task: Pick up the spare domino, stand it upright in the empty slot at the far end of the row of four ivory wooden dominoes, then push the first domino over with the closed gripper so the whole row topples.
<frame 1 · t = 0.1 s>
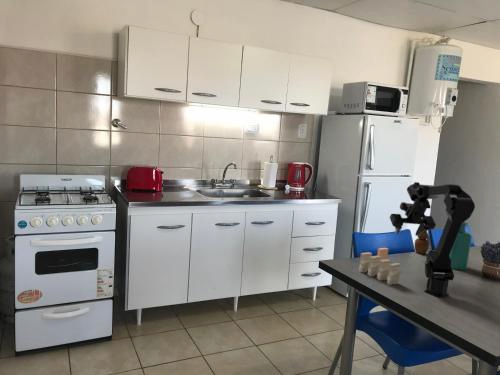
hand: (406, 234, 188), 15 cm above the table, tool tilted 30°, fingers open, 9 cm apart
wooden figurine: (420, 253, 217), on the table
domino 4: (364, 271, 180), on the table
domino 3: (373, 275, 175), on the table
domino 2: (382, 279, 171), on the table
teal tall bottle: (453, 267, 197), on the table
domino 1: (392, 283, 167), on the table
spare domino: (381, 265, 189), on the table
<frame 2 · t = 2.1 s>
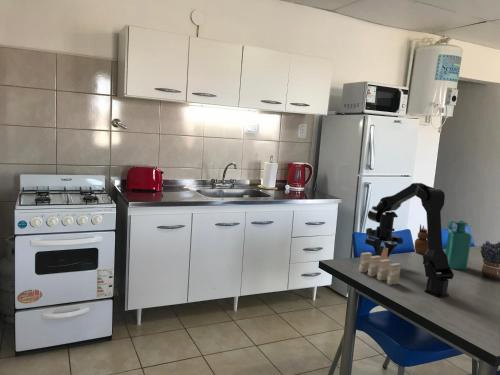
hand: (381, 259, 189), 3 cm above the table, tool pointing down, fingers closed on spare domino, 5 cm apart
spare domino: (381, 265, 189), on the table, touching gripper
everything else where it was.
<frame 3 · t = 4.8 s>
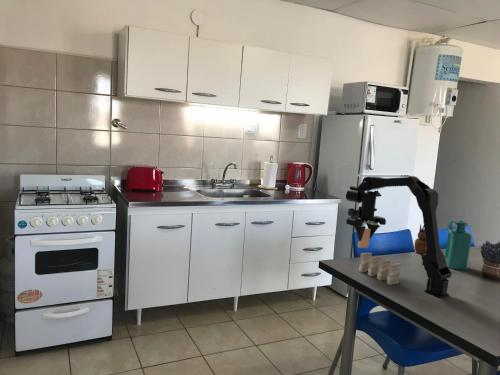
hand: (364, 240, 183), 12 cm above the table, tool pointing down, fingers closed on spare domino, 5 cm apart
spare domino: (363, 247, 184), point 9 cm above the table, touching gripper
everything else where it was.
when the fingers open (4 cm above the table, at t = 7.5 s): spare domino stays where it is, on the table.
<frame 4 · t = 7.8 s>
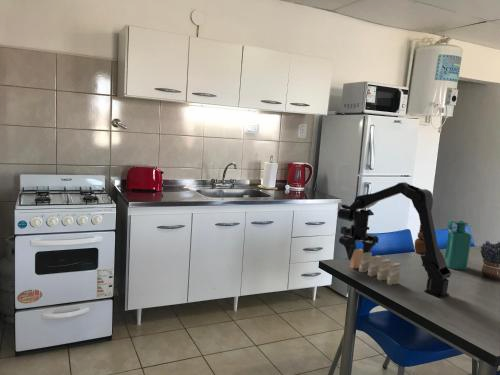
hand: (356, 258, 183), 4 cm above the table, tool pointing down, fingers open, 9 cm apart
spare domino: (355, 267, 184), on the table
everything else where it was.
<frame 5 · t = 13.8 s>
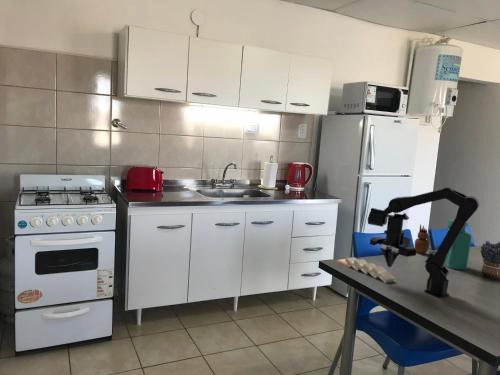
hand: (389, 266, 168), 6 cm above the table, tool pointing down, fingers closed
domino 4: (362, 268, 181), point 1 cm above the table, tilted 77°, touching domino 3, spare domino
domino 3: (370, 272, 176), point 1 cm above the table, tilted 72°, touching domino 4
domino 2: (380, 276, 172), point 1 cm above the table, tilted 72°, touching domino 1
domino 1: (390, 280, 168), point 1 cm above the table, tilted 71°, touching domino 2
spare domino: (354, 266, 185), on the table, tilted 90°, touching domino 4
everything else where it was.
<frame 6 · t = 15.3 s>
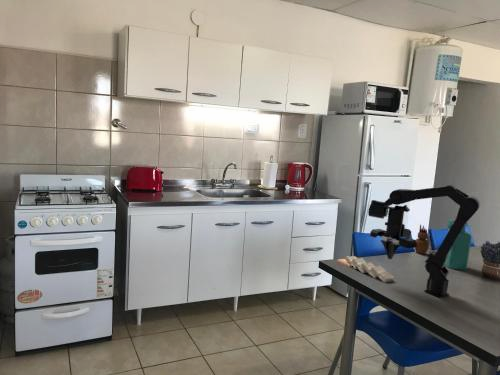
hand: (390, 259, 168), 9 cm above the table, tool pointing down, fingers closed
domino 4: (360, 267, 182), point 1 cm above the table, tilted 78°, touching domino 3, spare domino
domino 3: (367, 271, 177), point 1 cm above the table, tilted 71°, touching domino 2, domino 4
domino 2: (379, 275, 173), point 1 cm above the table, tilted 72°, touching domino 1, domino 3
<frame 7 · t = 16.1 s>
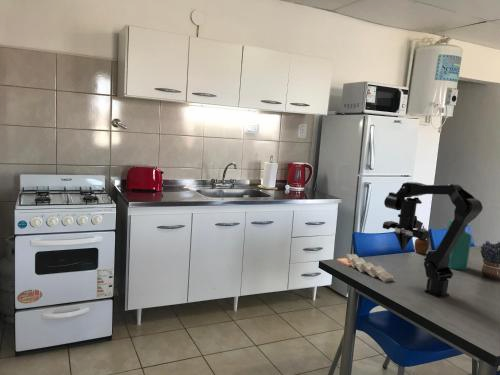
hand: (402, 249, 173), 12 cm above the table, tool pointing down, fingers closed
domino 4: (359, 266, 183), point 1 cm above the table, tilted 73°, touching domino 3, spare domino
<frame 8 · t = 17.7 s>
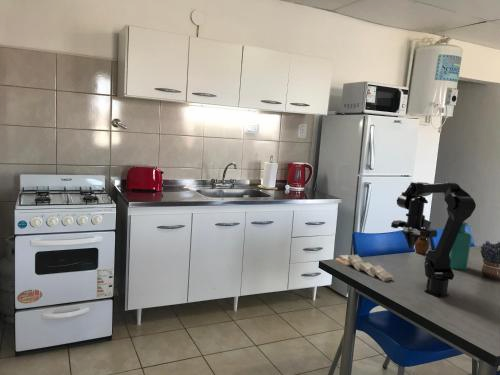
hand: (410, 248, 176), 12 cm above the table, tool pointing down, fingers closed
domino 4: (353, 262, 185), point 2 cm above the table, tilted 90°, touching domino 3, spare domino
domino 3: (363, 268, 180), point 1 cm above the table, tilted 65°, touching domino 4
domino 2: (377, 274, 174), point 1 cm above the table, tilted 76°, touching domino 1
at the end: spare domino tilted 90°; domino 1 tilted 73°; spare domino inside the target area (0.3 cm from its centre), on the table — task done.
